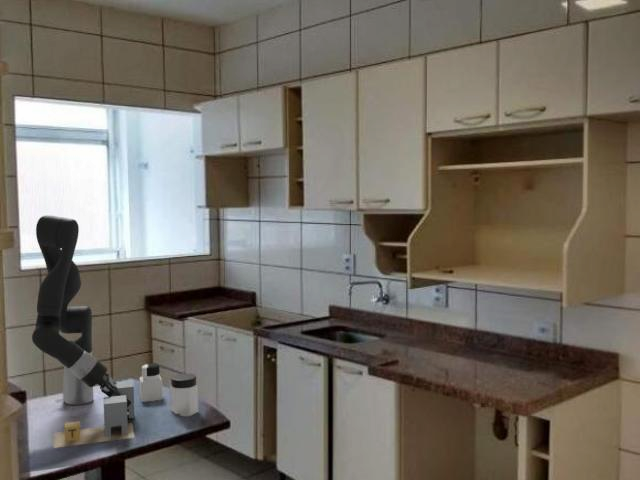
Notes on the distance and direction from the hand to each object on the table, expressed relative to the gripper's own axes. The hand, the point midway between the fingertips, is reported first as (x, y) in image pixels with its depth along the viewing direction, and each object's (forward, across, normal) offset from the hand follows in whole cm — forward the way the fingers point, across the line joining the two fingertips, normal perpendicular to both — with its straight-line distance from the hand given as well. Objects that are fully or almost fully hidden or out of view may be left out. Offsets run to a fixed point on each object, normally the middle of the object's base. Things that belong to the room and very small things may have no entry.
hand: (128, 401), depth 201 cm
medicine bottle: (+11, +20, -2) cm, 23 cm away
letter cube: (-8, -12, +15) cm, 21 cm away
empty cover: (+1, -12, +7) cm, 14 cm away
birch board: (-3, -12, +12) cm, 17 cm away
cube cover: (+2, 0, +4) cm, 5 cm away
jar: (+17, +1, -8) cm, 19 cm away
